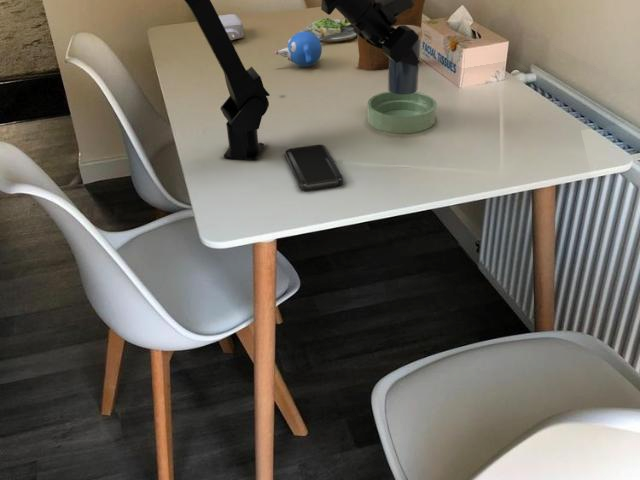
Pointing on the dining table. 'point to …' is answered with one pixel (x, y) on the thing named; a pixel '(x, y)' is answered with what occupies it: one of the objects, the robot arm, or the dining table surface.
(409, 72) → the canister
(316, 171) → the phone
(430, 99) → the bowl
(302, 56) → the blue mole toy
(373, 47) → the pancake mix bag
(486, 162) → the dining table surface
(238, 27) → the charger
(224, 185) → the dining table surface
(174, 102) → the dining table surface
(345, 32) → the salad plate
